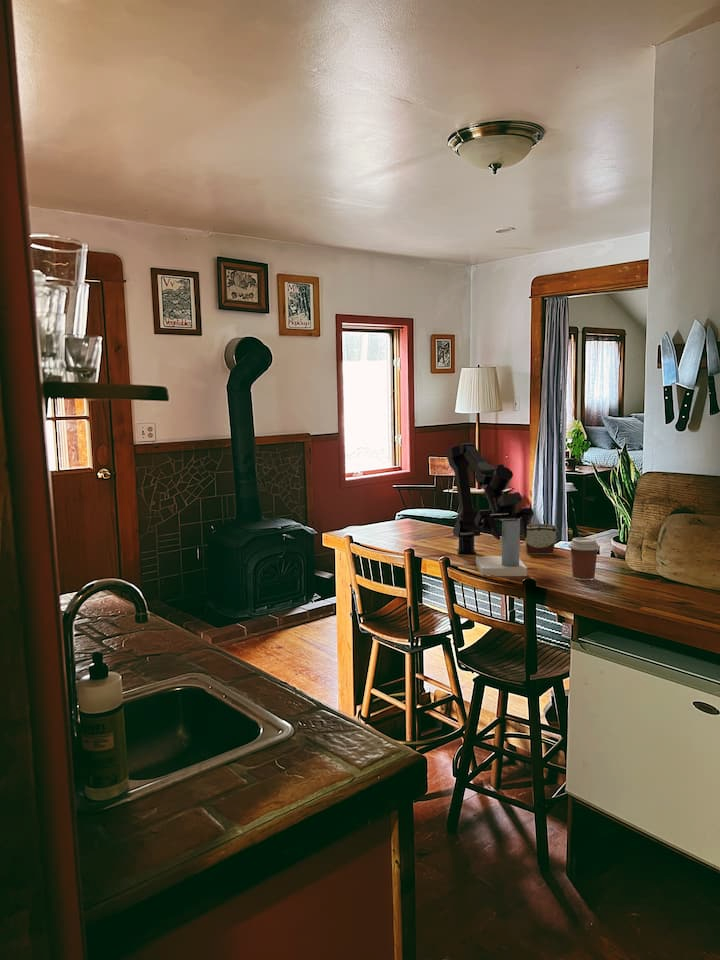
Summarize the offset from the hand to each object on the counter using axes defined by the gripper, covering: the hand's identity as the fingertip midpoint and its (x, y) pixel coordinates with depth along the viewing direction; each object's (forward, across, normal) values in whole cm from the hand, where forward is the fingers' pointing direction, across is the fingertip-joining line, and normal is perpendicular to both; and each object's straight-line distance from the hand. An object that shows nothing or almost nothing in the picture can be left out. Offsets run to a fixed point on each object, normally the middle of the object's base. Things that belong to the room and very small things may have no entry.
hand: (512, 538), depth 222 cm
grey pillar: (+5, 0, +7) cm, 9 cm away
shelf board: (+4, -1, +12) cm, 13 cm away
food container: (-11, +25, +27) cm, 38 cm away
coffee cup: (+17, +17, -1) cm, 24 cm away
